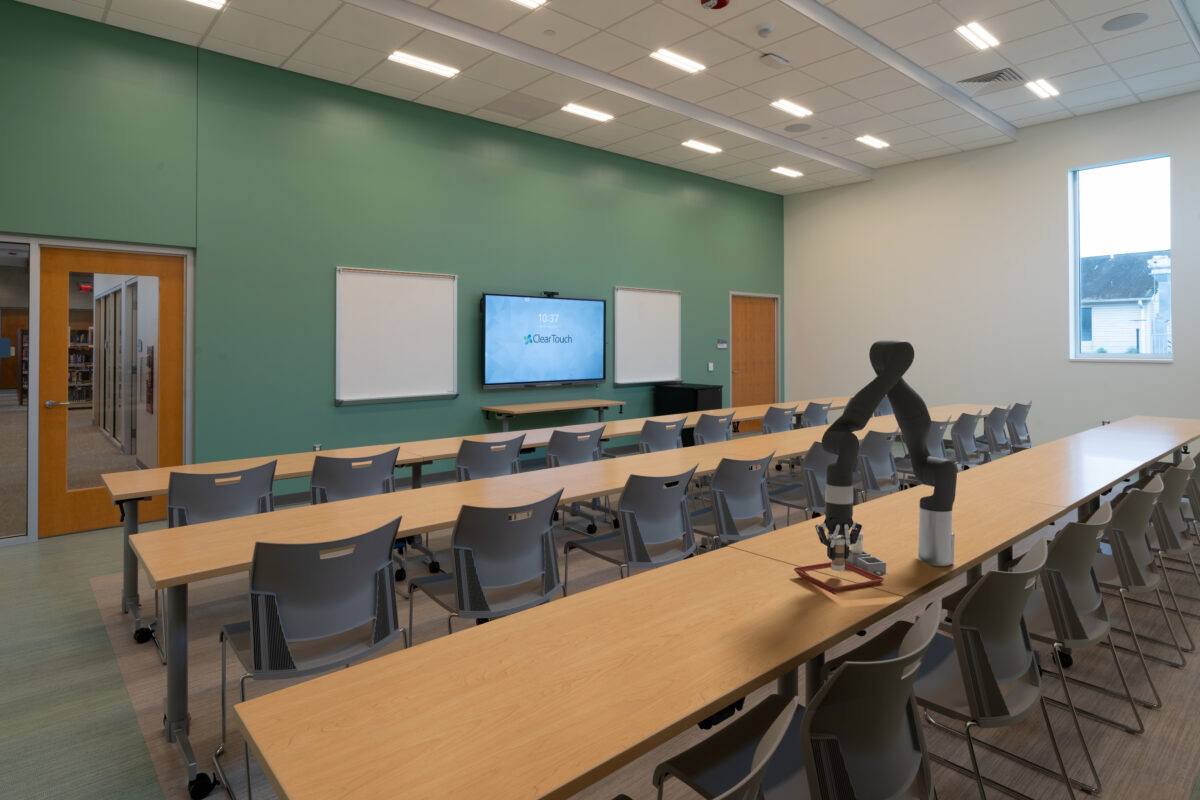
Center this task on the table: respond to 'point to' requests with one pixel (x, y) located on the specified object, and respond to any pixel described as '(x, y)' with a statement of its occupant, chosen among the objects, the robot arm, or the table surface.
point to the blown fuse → (839, 555)
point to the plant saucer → (828, 587)
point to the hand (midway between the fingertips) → (838, 558)
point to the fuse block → (867, 563)
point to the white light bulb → (858, 545)
